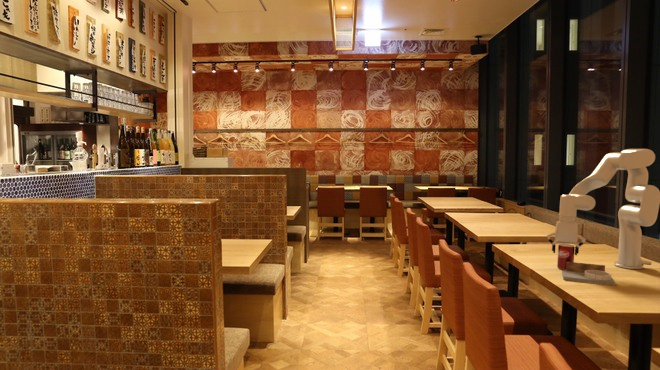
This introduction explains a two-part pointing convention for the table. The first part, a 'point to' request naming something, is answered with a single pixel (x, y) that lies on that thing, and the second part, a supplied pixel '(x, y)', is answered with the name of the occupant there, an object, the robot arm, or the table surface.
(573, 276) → the board
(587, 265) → the rail
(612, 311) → the table surface
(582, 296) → the table surface
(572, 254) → the soda can
